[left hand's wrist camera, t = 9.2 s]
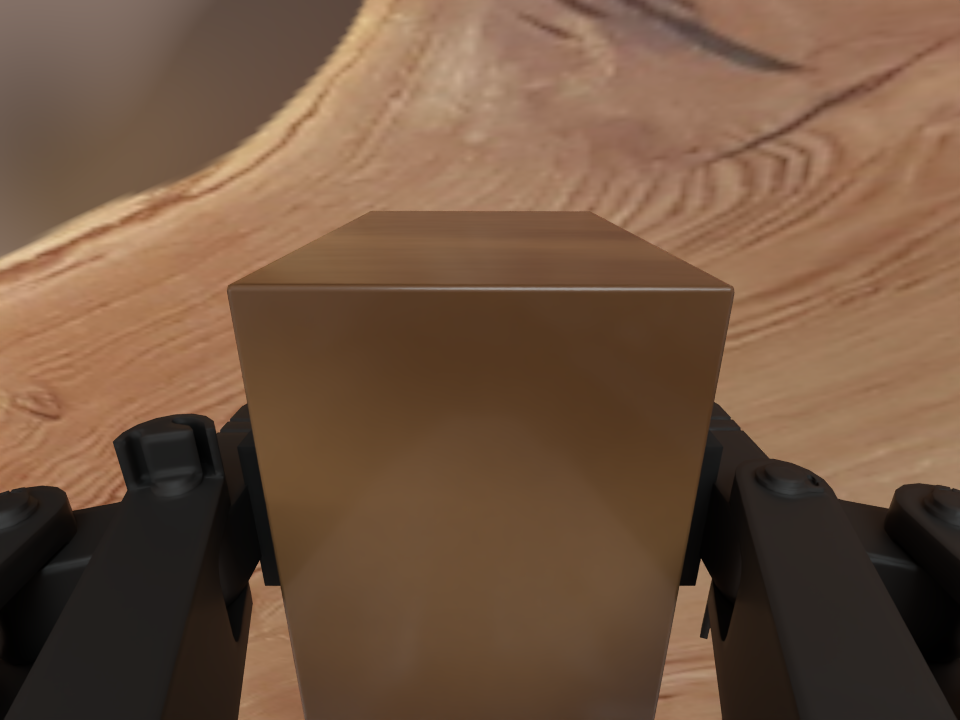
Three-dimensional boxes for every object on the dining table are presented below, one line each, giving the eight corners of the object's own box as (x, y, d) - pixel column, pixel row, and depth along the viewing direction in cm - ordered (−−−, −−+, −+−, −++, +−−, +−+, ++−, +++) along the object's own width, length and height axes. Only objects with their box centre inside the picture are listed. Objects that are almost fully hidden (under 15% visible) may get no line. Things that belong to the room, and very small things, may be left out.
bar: (369, 210, 13) (223, 284, 6) (592, 211, 13) (739, 286, 6) (411, 776, 22) (373, 1106, 14) (547, 777, 22) (582, 1107, 14)
